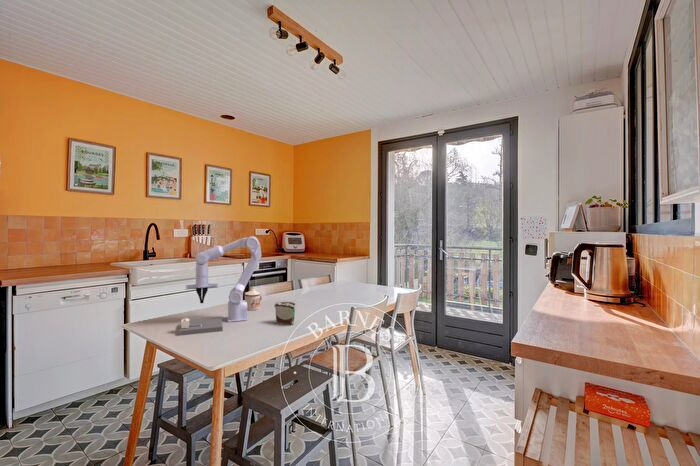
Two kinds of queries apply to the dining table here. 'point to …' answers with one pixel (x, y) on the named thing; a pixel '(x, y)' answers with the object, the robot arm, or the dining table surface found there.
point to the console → (202, 326)
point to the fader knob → (185, 323)
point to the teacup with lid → (253, 299)
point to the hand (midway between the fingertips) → (201, 302)
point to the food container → (285, 312)
